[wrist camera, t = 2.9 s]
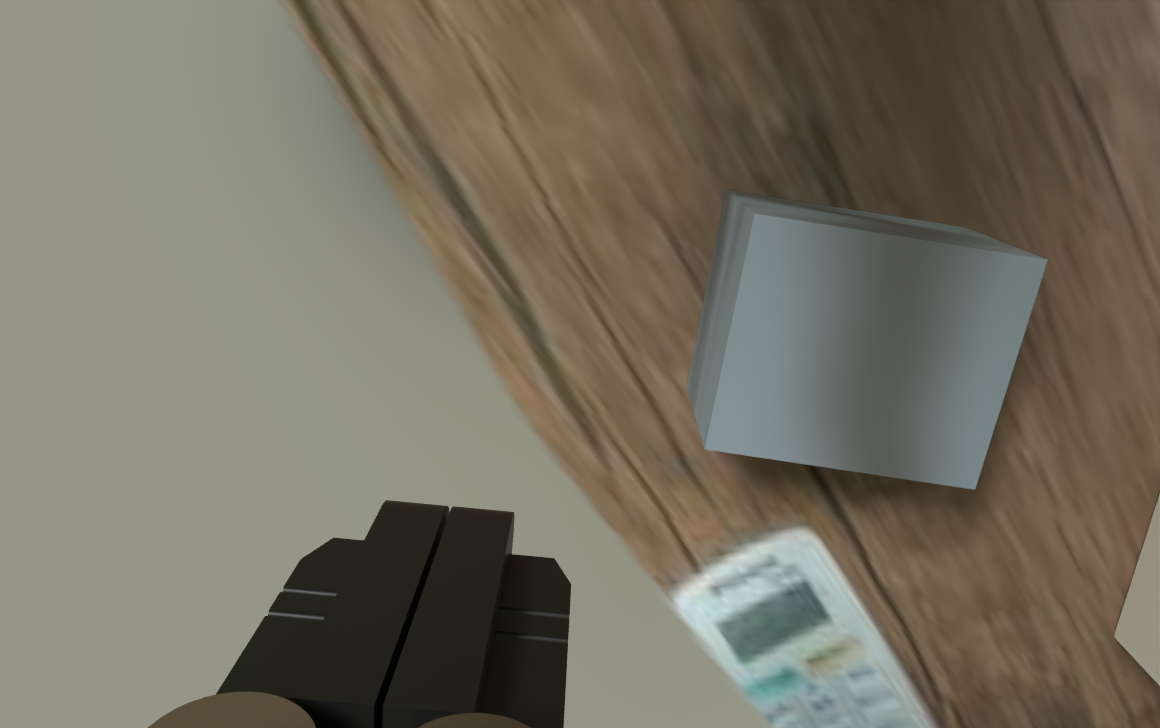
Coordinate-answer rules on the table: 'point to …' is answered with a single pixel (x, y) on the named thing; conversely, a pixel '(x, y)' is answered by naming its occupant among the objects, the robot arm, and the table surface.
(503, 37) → the table surface
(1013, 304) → the block
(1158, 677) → the cream rectangular bar
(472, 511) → the robot arm
